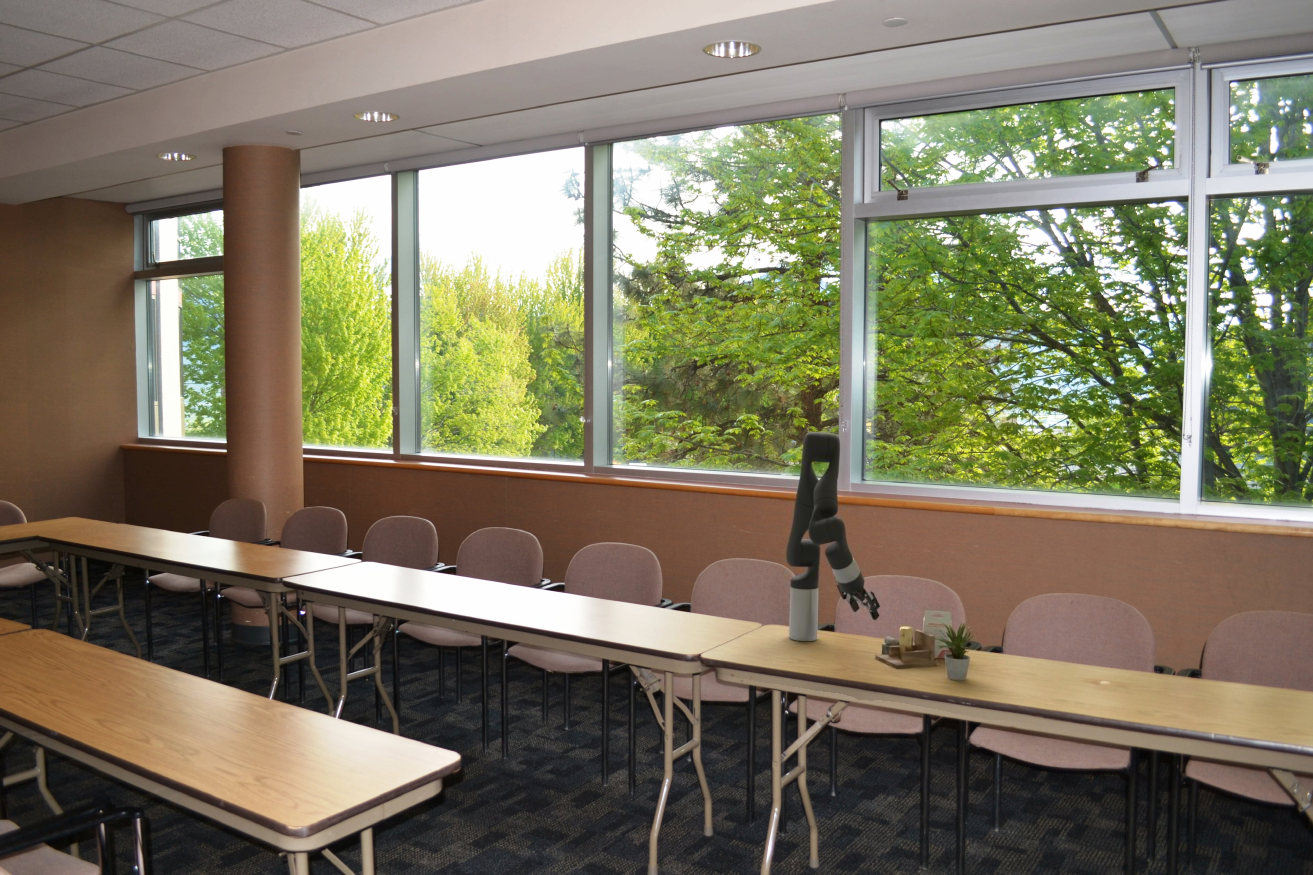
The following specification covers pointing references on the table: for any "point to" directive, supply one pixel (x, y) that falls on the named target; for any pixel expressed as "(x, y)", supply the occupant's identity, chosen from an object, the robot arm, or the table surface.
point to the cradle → (909, 652)
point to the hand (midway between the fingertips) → (866, 613)
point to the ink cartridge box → (935, 623)
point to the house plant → (956, 652)
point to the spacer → (905, 640)
